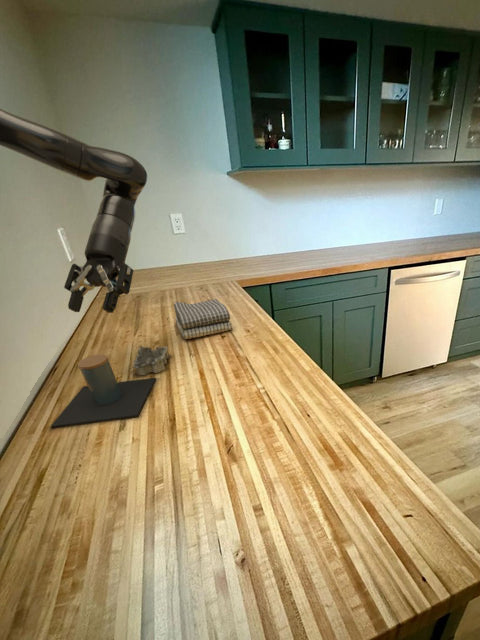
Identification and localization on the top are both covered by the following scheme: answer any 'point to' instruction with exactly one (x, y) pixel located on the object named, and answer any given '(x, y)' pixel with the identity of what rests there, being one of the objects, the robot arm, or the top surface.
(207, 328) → the towel
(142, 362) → the egg carton
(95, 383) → the sugar canister
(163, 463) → the top surface
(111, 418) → the counter mat
